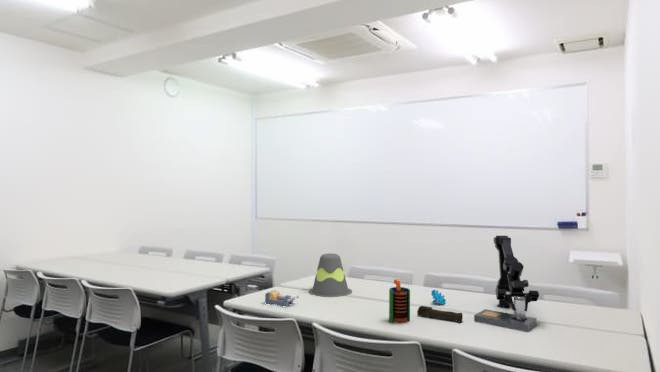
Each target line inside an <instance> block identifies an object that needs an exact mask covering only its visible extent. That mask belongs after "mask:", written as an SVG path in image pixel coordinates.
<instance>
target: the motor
mask: <svg viewBox="0 0 660 372" xmlns="http://www.w3.org/2000/svg"><path fill="white" fill-rule="evenodd" d="M393 284H395V286H394V287H393V286H392V287H390V288H388V289H389V291H388V292H389V293H388V295H389V298H388V301H389V302H388V303H389V305H388V310H389V312H388V321H389V322H390V323H391V324H393V323H396V324H407V323H408V322H410V321H411V289H410V288H409V287H404V286H403V287H402V285H401V280H400V279H397V278H396V279H393Z"/></svg>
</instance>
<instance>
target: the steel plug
mask: <svg viewBox="0 0 660 372" xmlns="http://www.w3.org/2000/svg"><path fill="white" fill-rule="evenodd" d="M513 303H514V307H515V311H513V314H514V320H519V321H525V320H526V319H525V316H526V311H525V296H520V295H515V296H514V297H513Z"/></svg>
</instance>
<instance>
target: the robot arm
mask: <svg viewBox="0 0 660 372" xmlns="http://www.w3.org/2000/svg"><path fill="white" fill-rule="evenodd" d="M493 245H494V247H495V249H496V250H497V252H498V263H499V278H498V280H497V284H496V287H495V295H496V300H498V304H497V305H496V307H500V308H504V309H510V308H511V309H512V311H513V312H514V311H515V307H514V299H513V298H514V296H515V295H520V296H525V313H526V312H528V307H529V303H531V302H537V301H538V300H539V297H540V293H539V291H538V290H530V289H529V291H528V292H525V288H528V287H529V281H528V279H523V280H521V276H522V274H523V271H524V264H523V263H522V262H520V261H519V260H518V258H516V257H515V256H514V251H513V249H512V238H511V237H510V236H508V235H495V237H493Z"/></svg>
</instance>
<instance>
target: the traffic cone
mask: <svg viewBox="0 0 660 372" xmlns="http://www.w3.org/2000/svg"><path fill="white" fill-rule="evenodd" d="M316 271H317V272H316V274H315V278H314V280H313V281H314V282H313V286H312V288H311V289H309V290H308V294H309V295H311V296H314V295H315V296H314V297H319V296H320V297H322V298H338V297H340V296H341V297H345V296H348V295H351V294H352V293H353V290H352V289H350V288H349V286H348V283H347V279H346V275H345V273H344V268H343V264H342V259H341V256H340V255H339V254H337V253H324V254H321V256H319V261H318V265H317V270H316Z"/></svg>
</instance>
